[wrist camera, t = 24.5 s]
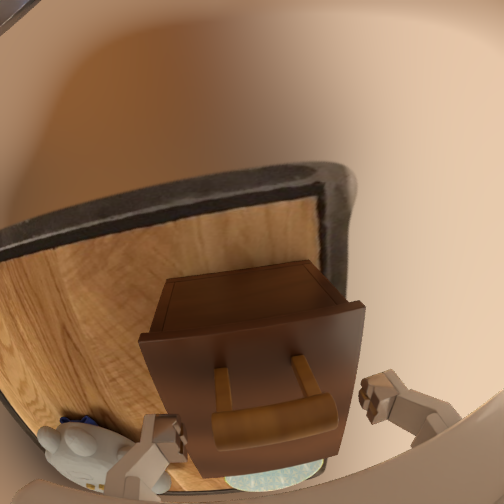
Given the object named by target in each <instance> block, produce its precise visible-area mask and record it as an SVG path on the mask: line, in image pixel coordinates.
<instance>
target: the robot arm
mask: <svg viewBox="0 0 504 504" xmlns="http://www.w3.org/2000/svg"><path fill="white" fill-rule="evenodd" d="M361 386H362V388H361V389H360V391H359V395H358V397H359V402H360V405H361V407H362V408H363V409H364V410H367V415H366V416H367V417H368V419H369V421H370V422H371V424H372V425H373V424H376V423H379V422H381V421H384V420H387V419H388V420H389V421H390V422H392V423H394V424H396V425H397V426H399V427H401V428H402V429H404V430H406V431H408V432H410V433H411V434H413V435H415V436H416V437H415V438H414V440H413V442H412V444H411V447H412V449H410V450H408V451H406V452H404V453H402V454H400V455H398V456H395V457H393V458H391V459H389V460H386V461H384V462H382V463H379V464H377V465H374V466H372V467H369V468H367V469H364V470H362V471H359V472H356V473H354V474H351V475H348V476H345V477H342V478H339V479H335V480H332V481H329V482H325V483H322V484H318V485H315V486H311V487H307V488H303V489H299V490H295V491H289V492H285V493H280V494H274V495H269V496H262V497H256V498H248V499H240V500H230V501H217V502H190V503H189V502H185V503H184V502H161V499H160V497H158V496H157V495H156V494H155V493H154V492H153V491H152V490H151V489H152V488H153V486H154V485H155V483H156V482H157V481H158V479H159V478H160V476H161V475H162V474H163V472H164V471H165V469H166V468H167V466H168V465H169V463H179V462H187V453H188V450H187V449H186V447H185V445H186V444H187V443H188V437H187V430H186V427H185V425H184V424H183V423H182V422H181V417H180V415H179V414H146V415H145V416H144V420H143V426H142V432H141V438H140V443H136V444H135V445H134V446H133V447H132V448H131V449H130V450H129V451H128V452H127V453H126V454H125V455H124V456H123V457H122V458H121V459H120V460H119V461H118V462H117V463H116V464H115V465H114V466H113V467H112V468H111V469H110V470H109V471H108V472H107V475H106V480H105V486H104V491H103V495H100V494H94V493H90V492H85V491H81V490H77V489H73V488H69V487H65V486H61V485H58V484H54V483H51V482H48V481H45V480H42V479H36V480H34V481H32V482H30V483H29V484H27V485H25V486H24V487H23V488H21V489H20V490H18V491H17V492H16V494H15V495H14V497H13V499H12V502H11V503H10V504H504V388H503V389H502V390H501V391H499V392H498V393H497V394H496V395H495V396H493V397H492V398H491V399H489V400H488V401H487V402H486V403H484V404H483V405H482V406H480V407H479V408H477V409H476V410H475V411H473V412H472V413H470V414H469V415H468V416H466V417H465V418H463V419H462V418H461V417H460V415H459V414H458V413H457V412H456V410H455V409H454V408H453V407H452V406H451V404H450V403H448V402H445V401H442V400H439V399H436V398H434V397H431V396H428V395H425V394H423V393H420V392H417V391H415V390H412V389H410V390H408V388H407V387H406V386H405V385H404V383H403V382H402V381H401V380H400V378H399V377H398V376H397V375H396V373H395V372H394V371H393V370H392V369H390V370H387V371H384V372H382V373H378V374H376V375H372V376H370V377H367V378H364V379H362V381H361Z"/></svg>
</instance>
